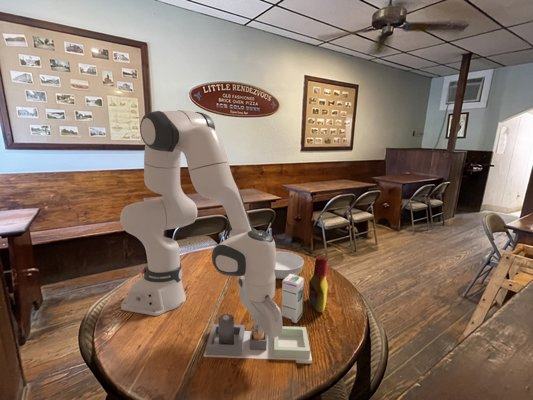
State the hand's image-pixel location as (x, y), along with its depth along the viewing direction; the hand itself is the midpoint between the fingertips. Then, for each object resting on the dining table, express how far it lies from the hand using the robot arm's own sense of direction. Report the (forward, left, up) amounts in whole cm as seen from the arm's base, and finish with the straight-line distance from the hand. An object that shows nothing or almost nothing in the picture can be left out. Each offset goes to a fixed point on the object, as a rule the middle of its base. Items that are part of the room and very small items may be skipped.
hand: (258, 331), depth 78 cm
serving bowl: (+8, +47, -6) cm, 48 cm away
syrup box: (+11, +15, -6) cm, 19 cm away
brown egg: (0, 0, -4) cm, 4 cm away
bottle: (+21, +22, -6) cm, 31 cm away
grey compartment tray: (0, 0, -5) cm, 5 cm away
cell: (-10, 0, -4) cm, 10 cm away
